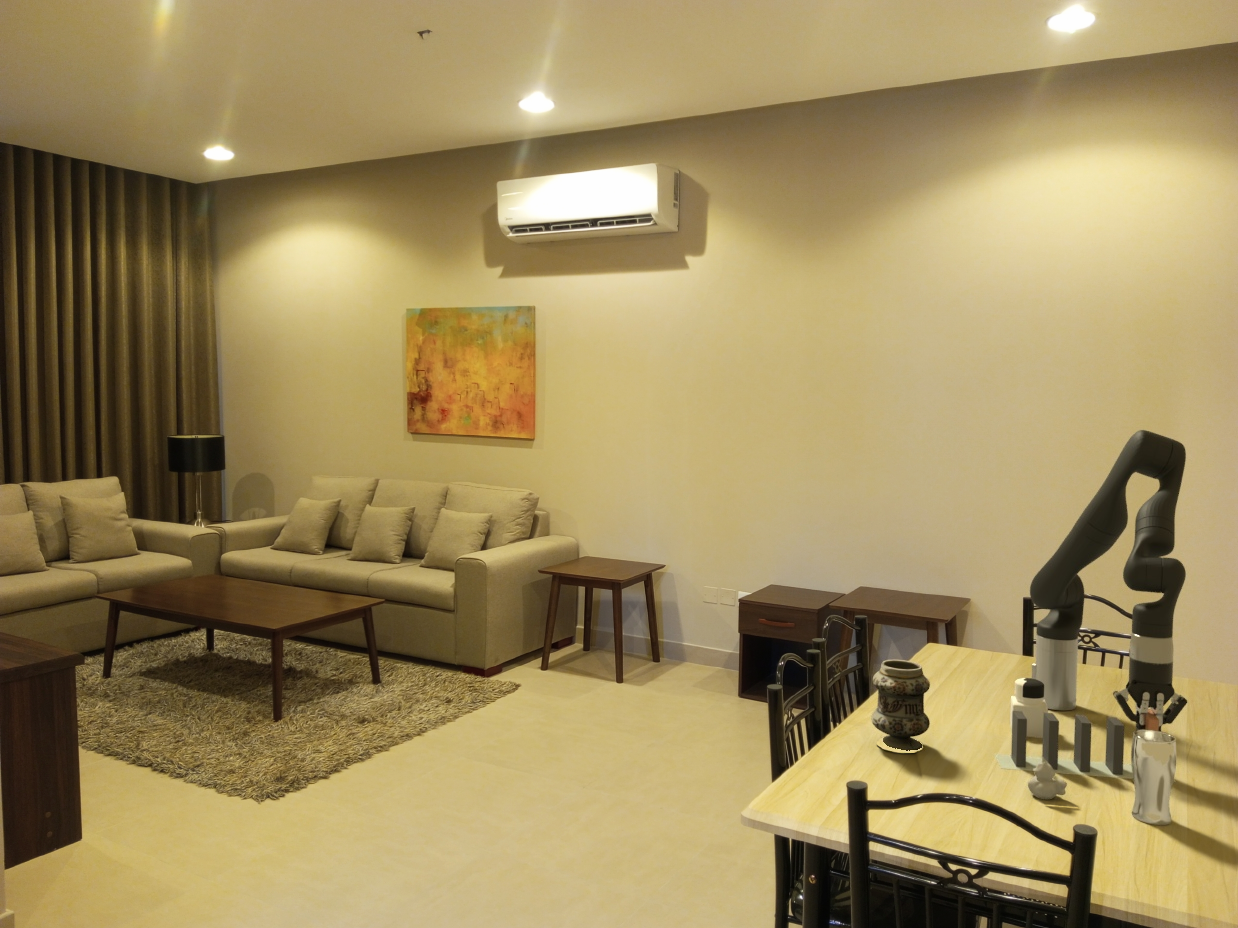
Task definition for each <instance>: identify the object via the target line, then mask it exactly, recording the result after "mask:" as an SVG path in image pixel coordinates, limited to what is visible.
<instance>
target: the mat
mask: <svg viewBox="0 0 1238 928" xmlns="http://www.w3.org/2000/svg"><path fill="white" fill-rule="evenodd" d="M993 756H995V759H996V760H997V763H998V764H999V767H1000V769H1003V770H1014V771H1027V772H1028V771H1029V772H1034V771H1033V769H1034V768H1036V767H1037V765H1038V763H1039V762H1041V761H1042V756H1041V757H1040V756H1039V757H1038V756H1029V755H1026V768H1025V767H1016V766H1015V764H1014V762H1013V760H1012V758H1011V754H1000V753H994V754H993ZM1054 773H1055V774H1065V775H1066V774H1067V775H1079V776H1091V777H1092V776H1093V777H1103V778H1104V777H1105V778H1114V779H1115V778H1116V779H1127V780H1128V779H1129V780H1130V779H1132V780H1133V773H1132V765H1131V763H1123V775H1115V774H1112V773H1111V771H1110V770H1109V769H1108V767H1107V766H1106V765H1105V761H1093V760H1090V773H1089V772H1080V771H1079V769H1078V768H1077V766H1076V765H1075V764H1074V759H1069V758H1068V759H1067V758H1058V770H1054ZM1173 783H1177V781H1176V780H1175V779H1174V781H1173Z"/></svg>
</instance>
